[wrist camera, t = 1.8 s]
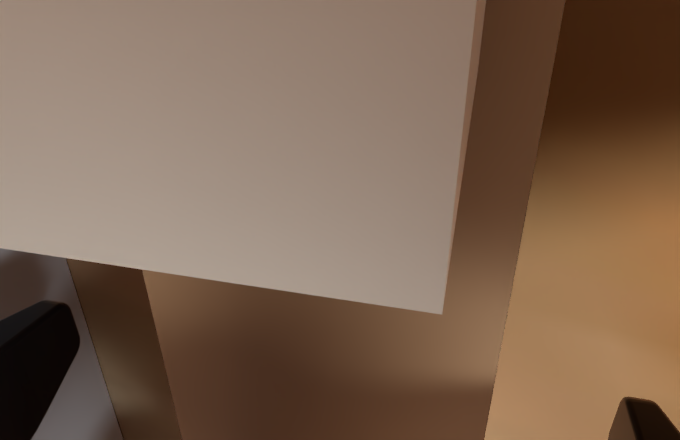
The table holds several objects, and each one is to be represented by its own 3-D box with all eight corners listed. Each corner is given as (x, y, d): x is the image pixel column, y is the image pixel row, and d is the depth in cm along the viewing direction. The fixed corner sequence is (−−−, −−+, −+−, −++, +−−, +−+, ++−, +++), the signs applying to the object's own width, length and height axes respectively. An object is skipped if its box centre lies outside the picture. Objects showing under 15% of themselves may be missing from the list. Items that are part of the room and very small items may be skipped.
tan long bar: (655, -710, 6) (795, -1237, 3) (447, 568, 18) (434, 706, 15) (131, -618, 7) (-143, -933, 4) (273, 528, 19) (231, 649, 17)
